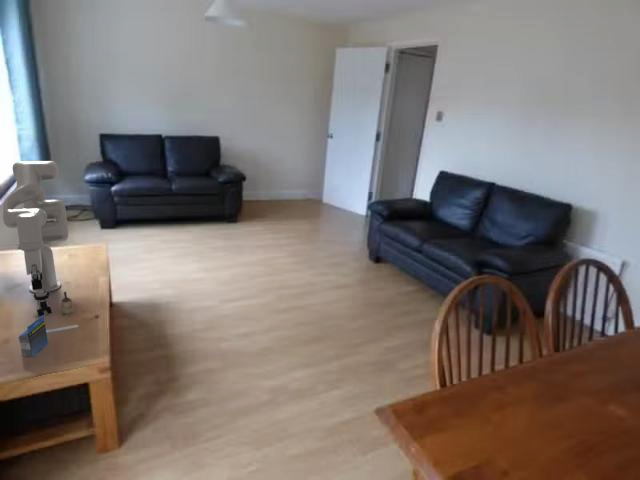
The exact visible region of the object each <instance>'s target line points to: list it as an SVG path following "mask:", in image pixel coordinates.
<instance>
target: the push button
mask: <svg viewBox="0 0 640 480" xmlns="http://www.w3.org/2000/svg"><path fill="white" fill-rule="evenodd" d="M49 297H50V292H46V291H44V290H42V291H38V292H36V293H34V294H33V298H34V299H35V301H36V302H37V309H36V312H34V313H32V314H33V317H37V316H38V317H42V316H43V315H44V316H47V315H49V314H52V307H51V306H50V305H49V303H48V299H49Z"/></svg>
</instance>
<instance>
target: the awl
mask: <svg viewBox="0 0 640 480" xmlns="http://www.w3.org/2000/svg"><path fill="white" fill-rule="evenodd" d="M63 295H64V297H63V298H62V299H61V300H60V307H61V314H62V316H65V317H69V316H71V315H74V307H73V300H72V298H70V297H68V294H67V291H64V292H63Z"/></svg>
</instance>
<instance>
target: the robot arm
mask: <svg viewBox="0 0 640 480" xmlns="http://www.w3.org/2000/svg"><path fill="white" fill-rule="evenodd" d="M12 173H13V176H14V179H15V181H16V189H15V190H13V191H12V192H11V193H10V194H9V195H8V196H7V197H6V198H5V199H4V202H3V206H2V220H3V224H4V225H5V226H6V227H7V228H10V229H16V230H17V234H18V235H17V236H18V242H19V248H20V250H21V251H22V252H23V255H24V263H25V269H26V270H25V271H26V276H31V277H30V278H31V281H30V282H31V283H30V285H29V286H28V290H29V292H31V293H34V294H36V292H38V291H42V290H44V291H46V292H48V293H50V292H53V291H56V290H58V289H59V288H60V287H62V283H61V281H60V280H57V272H56V265H55V259H54V253H53V250H52V248H51V247H50V246H49V245H48V244H50V243H51V244H52V243H62V242H66V241H67V240H68V239H69V228H68V225H69V224H68V217H67V210H66V205H65V203H64V202H63V201H62V200H61V199H47V198H46V191H45V189H44V188H43V187H42V182H51V181H52V182H53V181H54V182H55V181H56V180H57V179H58V178H59V175H60V170H59V166H58V164H57V163H56V161H53V160H25V161H24V160H22V161H18V162H15V163H14V164H12ZM22 204H23V208H16V207H17V206H19V205H22Z"/></svg>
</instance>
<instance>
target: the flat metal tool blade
mask: <svg viewBox="0 0 640 480" xmlns="http://www.w3.org/2000/svg"><path fill="white" fill-rule="evenodd" d="M78 328H79V325H78V324H75V325H68V326H64V327H57V328H53V329H46V333H47V334H51V333H56V332H61V331H66V330H67V331H68V330H72V329H78Z"/></svg>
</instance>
